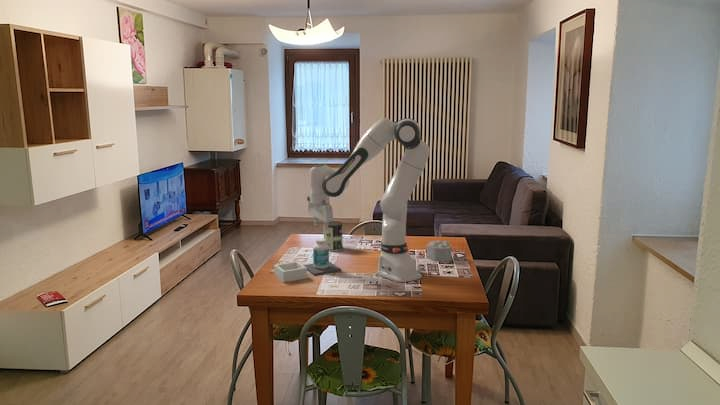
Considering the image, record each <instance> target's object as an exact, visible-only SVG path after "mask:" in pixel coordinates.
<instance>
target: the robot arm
mask: <svg viewBox="0 0 720 405" xmlns="http://www.w3.org/2000/svg"><path fill="white" fill-rule="evenodd" d="M394 140H396V141H398V143H399V144H401V146H403V147H404V148H405V150H404V152H403V155H402V157H401V159H400V160H399V162H398V166H397V167H396V169H395V172H394V173H393V175H392V178H391V179H390V181H389V183H388V184H387V187H386V189H385V191H384V192H383V194H382V197H381V199H380V202H379V205H380V210H381V212H382V224H381V243H380V250H381V252H380V254H379V257H378V265H377V270H376V271H375V275H376V276H380V277H382V278H385V279H387V280H391V281H393V282H396V283H407V282H413V281H417V280H419V279H421V278H422V277H423V276H422V275H423V274H421V273H420V272H418V271H417V261H416V259H413V258H412V256H411V255H410V253H409V252H408V251H409V246H408V244H407V243H408V242H407V241H406V240H407V238H406V237H407V234H406V233H407V232H406V231H407V215H408V214H407V213H408V201H409V200H410V197H411V195H412V193H413V192H414V190H415V187H416V186H417V184H418V181H419V179H420V178H421V175H422V173H423V171H424V169H425V167H426V165H427V162H428V159H429V156H430V152H431V148H430V146H429V145H428V144H427V143H426V142H425V141H423V140H422V139H421V128H420V125H419V123H418V121H416V120H415V119H414V118H409V117H408V118H407V117H406V118H403V119H402V118H401V119H399V120H396V121H392V120H391V119H390V118H386V117H381V118H380V119H378V120H377V121H376V122H374V123H373V124H372V125H371V126H370V127H369V128H368V129H367V130H366V131H365V132H364V133H363V134H362V136H361V137H360V139H359V140H358V142H357V143H356V145H355V147H354V149H353V151H352V153H351V154H350V155H349V157H348V158H347V159H346V160H345V161H344V162H343V163H342V165H341V166H340V167H339V168H338V169H335V168H332V167H330V166H328V165H327V164H325V163H321V164H319V163H318V164H315V165H313V166H311V168H309V169H310V170H309V186H310V192H309V194H310V195H308V196H306V201H307V209H308V214H309V216H311V217H312V219H313V222H314V225H315V226H316V227H319V226H320V221H323V223H324V226H322V228H323V231H324V230H328V225H329V222H332V221H334V213H333V212H334V211H333V206H332V205H331V204H330V197H331V198H336V197H339V196H340V195H341V194H342V193H343V192H344V191H345V190H346V189H347V188H348V187H349V184H350V178H351V177H352V176H353V175H354V174H355V172H357V171H358V170H359V168H360V167H362V166H363V165H365V164H366V163H367V162H369V161H371V160H372V159H374V158H375V157H377V156H378V155H379V154H380V153H381V152H382V151H383V150H384V149H385V148H386V147H387V146H388V144H390V143H391V142H392V141H394ZM319 220H320V221H319Z"/></svg>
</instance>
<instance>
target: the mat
mask: <svg viewBox="0 0 720 405" xmlns="http://www.w3.org/2000/svg"><path fill="white" fill-rule="evenodd" d="M302 265H303V266H305V267H306V268H307V273H310V274H311V275H312V276H320V275H325V274H326V275H327V274H330V273H337V272H341V271H342V268H341V267H339V266H337V265H336V264H334V263H333V262H330V261H329V267H328V268H325V269H317V268H314V266H313V263H308V264H302Z"/></svg>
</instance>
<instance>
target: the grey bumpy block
mask: <svg viewBox="0 0 720 405" xmlns="http://www.w3.org/2000/svg"><path fill="white" fill-rule="evenodd" d="M452 251H453V246H452V245H451V244H450V243H449V241H447V240H443V241H441V240H440V239H438V240H432V241H430V242H427V244H426V258H427V259H429V260H431V261H433V262H436V263H450V262H451V261H452V253H453V252H452Z"/></svg>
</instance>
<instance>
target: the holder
mask: <svg viewBox="0 0 720 405" xmlns="http://www.w3.org/2000/svg"><path fill="white" fill-rule="evenodd" d="M303 265H304V264H302V263H300V262H299V261H297V260H296V261H289V262H284V263H277V264H274V265H273V267H274V268H273V270H274V271H273V272H274V273H273V275H274V277H276V278H277V279H278V280H280V281H281V282H282V283H289V282H293V281H294V282H295V281H299V280H305V279H308V271H307V268H306V267H305V266H303Z"/></svg>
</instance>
